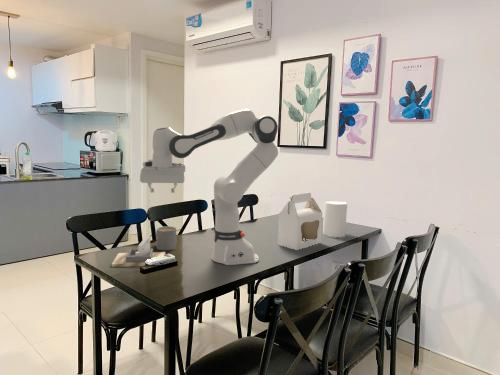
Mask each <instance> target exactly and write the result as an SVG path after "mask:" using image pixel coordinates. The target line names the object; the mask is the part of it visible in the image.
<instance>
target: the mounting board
mask: <svg viewBox="0 0 500 375" xmlns="http://www.w3.org/2000/svg"><path fill="white" fill-rule="evenodd" d="M127 254H128V252H118V253H117V254H116V256H115V258H114V259H113V261H112V263H111V267H112V268H116V267H117V268H120V267H123V268H124V267H146V266H145V262H126V256H127ZM162 255H165V256H166V251H155V252H154V251H153V255H152V258H153V257H158V256H162ZM131 256H135V255H131Z"/></svg>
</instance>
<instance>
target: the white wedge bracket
mask: <svg viewBox="0 0 500 375" xmlns="http://www.w3.org/2000/svg"><path fill="white" fill-rule="evenodd" d="M137 249H138V252H135V256H149V254H150V249H151V235H146V236H145V237H144V238H143V239H142V240H141V242H140V243H139V244H138V246H137Z"/></svg>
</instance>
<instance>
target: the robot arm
mask: <svg viewBox="0 0 500 375" xmlns="http://www.w3.org/2000/svg"><path fill="white" fill-rule="evenodd" d="M278 126H279V125H278V123H277V121H276V119H275V118H274V117H272V116H270V115H263V116H261V117H259V118H257V117H256V115H255V113H254V111H252V110H251V109H249V108H245V109H239V110H236V111H233V112H230V113H228V114H226V115H223V116H222V117H220V118H219V119H217V120H216V121H214V123H212V124H211V125H210V126H209V127H207V128H205V129H202V130H200V131H197V132H195V133H192V134H188V135H187V134H186V135H185V134H181V133H178V132H177V131H175V130H173V129H172V128H171V127H160V128H157V129H155V130H154V131H153V134H152V149H153V150H152V151H153V152H152V153H153V154H152V159H148V160H146V161H142V166H143V167H142V168H141V170H140V174H139V181H140V183H142V184H147V186H148V188H149V189H150V193H154V192H155V188H153V187H152V184H167V183H168V184H173V188H171V189H170V190H171V192H170V193H172V194H173V193H175V189H176V187H177V185H178V184H183V183H184V182H185V172H186V166H185V165H184V164H183V163H182V162H179V163H178V162H177V163H176V162H173V157H175V158H178V159H184V158H187V157H189V155H191V154H192V152H194V150H197V149H198V148H200V147H203V146H205V145H207V144H210V143H212V142H215V141H225V140H229V139H233V138H235V137H236V138H237V137H238V136H241V135H244V134H245V133H248V135H249V136H250V137H251V139H252V140H253V142H255V143H256V145H255V147H254V148H253V149H252V150H251V151H250V152H249V153H248V154H246V155H245V157H243V159H241V160H240V161H238V162H237V165H236V166H235V167H234V169H233V170H232V171H231V173H230V174H229V175H228V176H227V175H223V176H220V177H218V178H216V180H215V182H214V183H213V195H214V211H215V222H214V224H215V228H214V232H213V241H214V245H213V251H212V255H211V260H212V261H213V262H215V263H219V264H223V265H225V266H237V265H246V264H255V263H256V262H257V263H258V262H259V261H260V257H259V255H258V254H257V253H255V249H254V246H253V245H252V243H250V242H249V241H248V240H247V239H246V238H245V236H246V234H245V232H243V231H242V230H241V229H240V212H239V207H238V204H239V203H238V202H240V201H241V200H242V198H243V196H244V195H245V193H246V192H247V191H248V190H249V188H250V187H251V186H252V185H253V183H254V182H255V181H256V180H257V179H258V178H259V177H260V176H261V175H262V174H263V173H264V172H265V171H267V169H268V168H269V167H270V166H271V165H272V163H274V161H275V160H276V158H277V157H278V155H279V149H278V147H277V145H276V144H275V143H274V142H275V140H276V137H277V134H278V130H279V128H278Z"/></svg>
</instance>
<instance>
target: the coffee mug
mask: <svg viewBox="0 0 500 375" xmlns="http://www.w3.org/2000/svg"><path fill="white" fill-rule="evenodd" d="M155 239H156V250H159V251H172V250H175V249H176V248H177V228H176V227H175V226H168V225H166V226H160V227H157V228H156V231H155Z"/></svg>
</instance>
